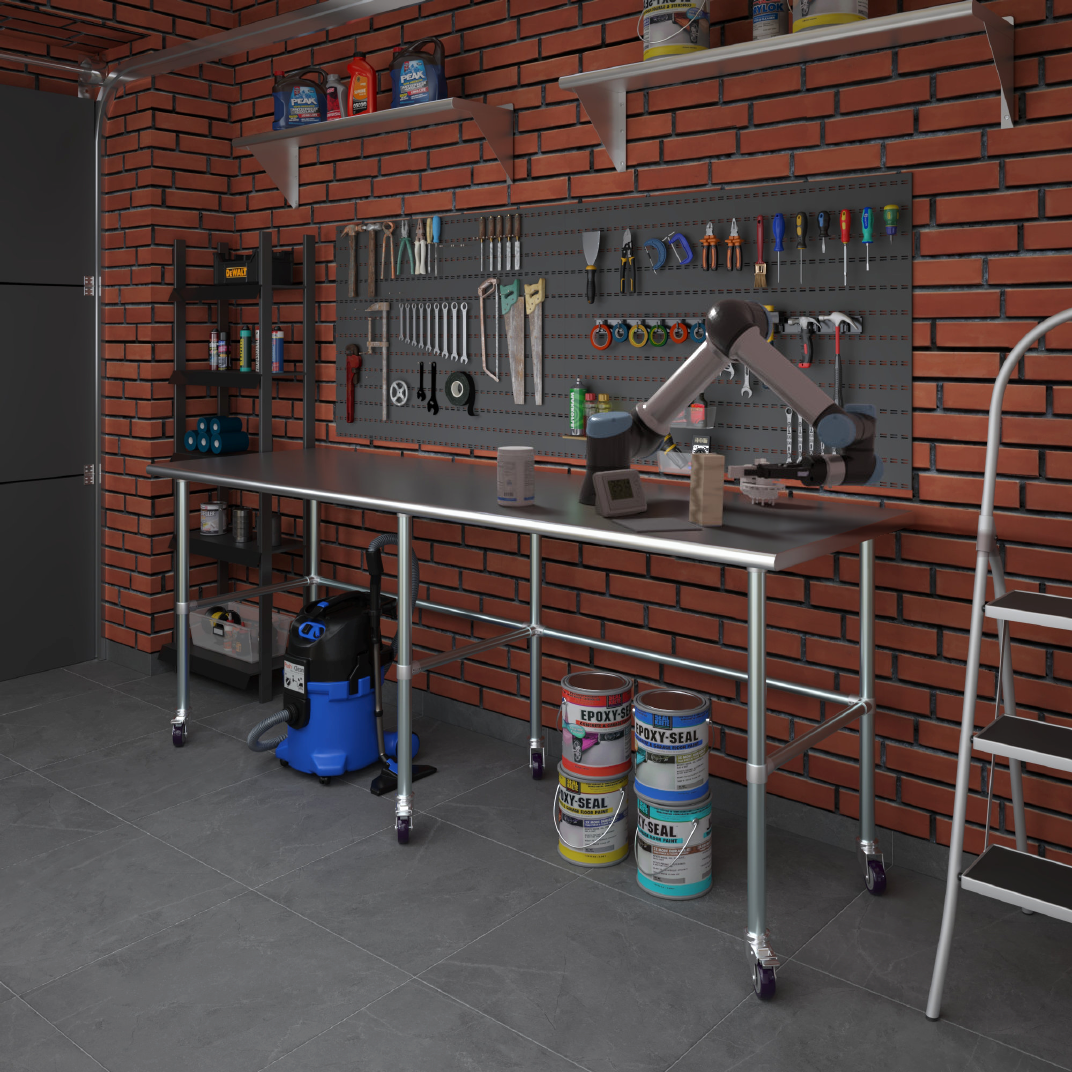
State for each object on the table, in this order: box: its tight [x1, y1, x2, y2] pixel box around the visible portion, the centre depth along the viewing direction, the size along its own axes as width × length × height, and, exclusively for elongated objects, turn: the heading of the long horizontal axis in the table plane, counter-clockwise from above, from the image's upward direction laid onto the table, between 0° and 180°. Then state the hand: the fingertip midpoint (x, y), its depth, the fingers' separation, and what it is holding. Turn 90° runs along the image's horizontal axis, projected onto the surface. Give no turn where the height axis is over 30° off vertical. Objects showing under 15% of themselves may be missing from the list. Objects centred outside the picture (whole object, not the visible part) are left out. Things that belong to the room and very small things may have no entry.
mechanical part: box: [739, 458, 786, 506], centre depth 274 cm, size 11×12×12 cm
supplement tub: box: [496, 445, 536, 508], centre depth 266 cm, size 10×10×15 cm
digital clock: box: [593, 468, 648, 518], centre depth 253 cm, size 16×9×11 cm, turn 123°
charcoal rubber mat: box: [611, 517, 703, 533], centre depth 236 cm, size 16×16×1 cm
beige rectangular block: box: [688, 452, 726, 528], centre depth 238 cm, size 7×5×16 cm
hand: (729, 472), depth 239 cm, fingers closed
